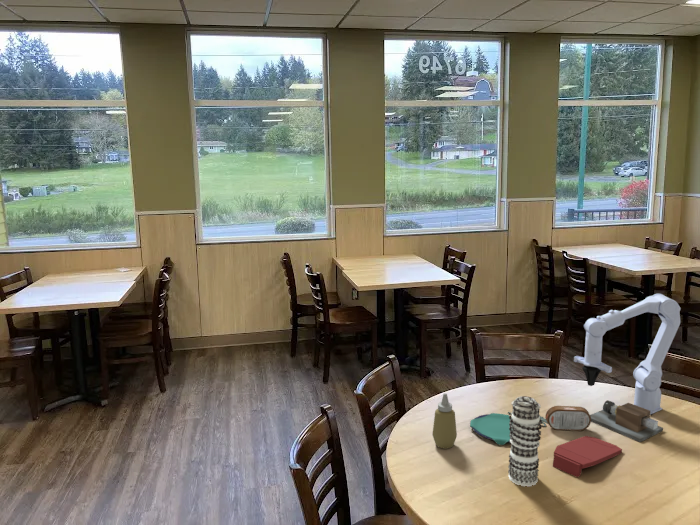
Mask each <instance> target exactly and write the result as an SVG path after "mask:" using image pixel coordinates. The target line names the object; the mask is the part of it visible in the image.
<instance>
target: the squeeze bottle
mask: <svg viewBox="0 0 700 525" xmlns="http://www.w3.org/2000/svg"><path fill="white" fill-rule="evenodd" d="M457 432H458V431H457V421H456V412H455V410H454V409H453V405H452V403H451V402H449V398H448V394H447V393H443V394H442V397H441V401H440V402H438V404H437V408H436V409H435V411H434V418H433V427H432V438H433V440H434V444H435V445H436V447H438V448H440V449H444V450H445V449H451V448H453V447H454V444H455V443H456V440H457V436H458V434H457Z"/></svg>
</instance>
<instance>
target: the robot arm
mask: <svg viewBox="0 0 700 525" xmlns="http://www.w3.org/2000/svg"><path fill="white" fill-rule="evenodd" d="M681 309H682V308H681V307H680V305H679V303H678V302H677V301H676V300H674V299H672V298H670V297H668V296H665V295H664V294H663V293H655V294H653V295H649V296H646V297H645V299H643V300H640V301H638V302H637V303H635V304H633V305H630V306H628V307H626V308H625V309H623V310H618V309H617V310H616V309H614V310H613V309H610V310H608V312H607V313H605V314H602V315H597V316H596V318H595V317H590V318H588V319H587V320H586V321H585V323H584V324H583V328H584V330H585V343H584V345H585V346H584V357H583V356H579V355H576V356H573V362H575V363H580V364H583V366H582V368H581V369H582V372H584V374H585V379H586V382H587V386H590V387H592V386H595V383H596V380H597V378H598V376H599V374H600V373H601V372H603V371H604V372H605V373H607V374H610V373H612V371H613V367H612V366H610V365H608V364H606V363H604V362H602V352H603V336H604V335H605V334H606V332H607V331H611V330H612V329H614V328H618V327H619V326H622V325H624V323H625V322H626V320H628V319H631V318H633V317H636V316H639V315H642V314H644V313H645V314H646V313H650V314H654V315H655V314H657V315H658V317H659V318H660V320H661V324H660V326H659V328H658V331H657V333H656V335H655V338H654V339H653V342H652V344H651V346H650V349H649V351H648V354H647V355H646V358H645V359H644V360H642V361H641V362H639V364H638V366H637V367H635V368H634V369H633V373H632V374H633V375H632V376H633V378H634V379H635V386H634V387H635V388H634V398H633V405H636V406H639V407H642V408H644V409H647V410H650V411H651V412H650V416H651V415H653V414H656V413H657V412H659V411H662V410H663V407H661V404H662V403H661V400H662V390H661V389H660V387H661V385H662V376H663V370H662V365H663V363H664V361H665V358H666V357H667V353H668V352H669V350H670V348H671V345H672V343H673V340H674V339H675V337H676V334H677V332H678V329H679V327H680V325H681V316H680V315H681V314H680V311H681Z"/></svg>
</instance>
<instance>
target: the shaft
mask: <svg viewBox="0 0 700 525" xmlns="http://www.w3.org/2000/svg"><path fill="white" fill-rule="evenodd" d="M619 406H621V405H620V404H619V405H618V404H617V405H616V402H614V401H611V400H606V401H604V403H603V405H602V410H603V411H604V412H606V413H609V414H612V413H613V414H615V415H616V409H617V407H619ZM658 424H659V421H658V420H656V419H653V418H651V417H650V418H648V417H646V416H645V417H643V418H642V421H641V425H643V426H646V427H648V428H651V429H653V430H654V429H656V428H657V427H658V426H659V425H658Z"/></svg>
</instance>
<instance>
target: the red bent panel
mask: <svg viewBox="0 0 700 525" xmlns="http://www.w3.org/2000/svg"><path fill="white" fill-rule="evenodd" d="M622 452H623V449H622V448H621V447H619V446H618V445H616V444H613V443H611V442H608V441H606V440H603V439H600V438H598V437H595V436H591V435H584V436H581V437H578V438H575V439H572V440H570V441H567V442H564V443H561V444H559V445H556V446H555V449H554V451H553V460H552V467H553V468H556V469H558V470H561V471H562V472H564V473H567V474H568V475H571V476H574V477H575V476H576V477H575V478H579V477H580V476H581V475H582V470H583V469H586V468H589V467H593V466H596V465H599V464H601V463H603V462H605V461H607V460H610V459H613V458H615V457H616V456H620V454H622Z"/></svg>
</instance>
